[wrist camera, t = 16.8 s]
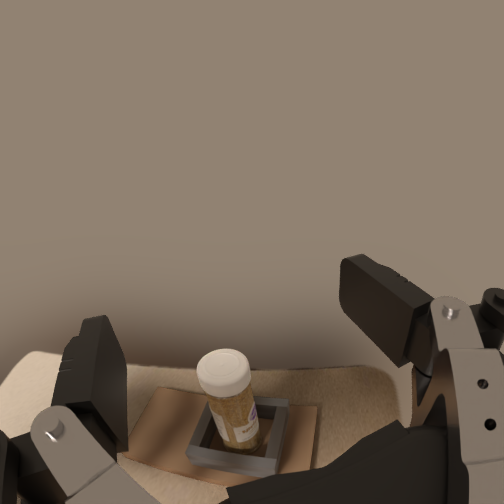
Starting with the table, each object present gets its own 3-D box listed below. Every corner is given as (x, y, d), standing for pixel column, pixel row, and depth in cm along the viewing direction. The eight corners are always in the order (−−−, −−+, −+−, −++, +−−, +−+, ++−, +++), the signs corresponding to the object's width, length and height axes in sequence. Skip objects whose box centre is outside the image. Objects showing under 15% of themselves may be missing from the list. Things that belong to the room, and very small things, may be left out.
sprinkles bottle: (262, 456, 28) (248, 382, 22) (221, 457, 28) (191, 384, 23) (262, 424, 32) (249, 344, 27) (224, 426, 32) (199, 347, 27)
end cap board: (125, 456, 29) (110, 439, 27) (161, 392, 40) (151, 372, 38) (305, 496, 24) (306, 482, 22) (316, 412, 34) (318, 391, 32)
